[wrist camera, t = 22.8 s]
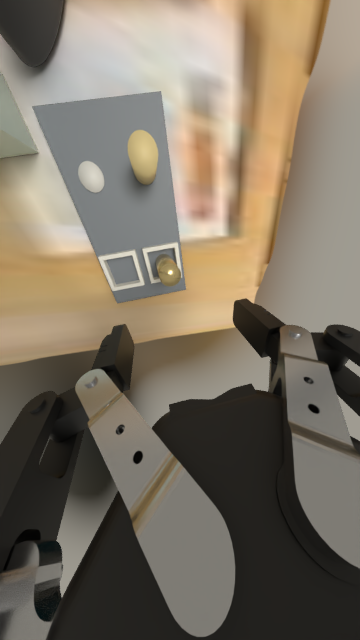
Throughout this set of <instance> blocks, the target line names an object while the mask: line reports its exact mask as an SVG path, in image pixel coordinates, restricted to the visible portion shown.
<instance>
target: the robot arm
mask: <svg viewBox="0 0 360 640" xmlns="http://www.w3.org/2000/svg"><path fill="white" fill-rule="evenodd" d="M233 322H234V325H235V326H236V328H237V329H238V330H239V331H240V332H241V334H242V335H243V336H244V337H245V338H246V340H247V341H248V342H249V343H250V344H251V346H252V347H253V348H254V349H255V350H256V352H257V353H258V354H259V355H260V357H262V358H263V357H267V356H269V357H270V358H271V359H270V370H269V389H268V392H266V391H261V390H255V389H254V387H253V386H252V384H248V385H244V386H240V387H236V388H233V389H230V390H229V391H227V392H225V393H223V394H222V395H220V396H218V397H217V398H215V399H212V400H203V399H199V400H198V399H189V400H186V401H181V402H177V403H174V404H170V405H169V407H170V408H169V409H170V412H168V413H166V414H165V415H164V416H162V417H161V418H160V419H159V420H158V421H157V422H156V423H155V424H154V426H153V427H152V429H151V427H150V426H149V425H148V424H147V423H146V421H145V420H144V419H143V418H142V416H141V415H140V414H139V413H138V411H137V410H136V409H135V408H134V406H133V405H132V404H131V403H130V402H129V400H128V399H127V398H126V397H125V396H124V394H123V391H125V390H129V389H130V382H131V373H132V364H133V355H134V343H133V340H132V337H131V335H130V333H129V330H128V328H127V326H126V325H125V324H123V325H118V326H114V327H113V330H112V333H111V334H110V335H107V336H106V337H105V339H104V340H103V341H102V343H101V346H100V349H99V353H98V354H97V356H96V359H95V362H94V364H93V367H92V369H91V371H89V372H87V373H86V374H85V375H83V376H82V377H81V378H80V379H79V380H78V382H77V384H76V387H74V388H72V389H70V390H68V391H66V392H64V393H62V394H60V395H57V394H56V393H55V392H53V391H48V392H44V393H41V394H39V395H38V396H36V397H35V398H34V399H32V400H31V401H30V402H28V403H27V404H26V405H25V407H24V408H23V409H22V411H21V412H20V414H19V416H18V417H17V419H16V420H15V422H14V423H13V425H12V427H11V428H10V430H9V431H8V433H7V435H6V436H5V438H4V440H3V441H2V443H1V444H0V640H360V441H358V440H357V439H355V438H353V437H351V436H350V435H349V432H348V428H347V425H346V422H345V419H344V416H343V412H342V409H341V406H340V403H339V400H338V397H337V395H338V396H339V397H340V398H341V399H343V401H344V402H345V403H346V404H347V405H348V406H350V408H352V409H353V410H354V411H355V412H356V413H357V414H358V415H359V416H360V377H359V376H357V375H356V374H355V373H354V372H352V371H351V370H350V369H349V368H347V367H346V366H345V364H346V363H347V361H348V360H349V359H350V360H351V361H353V362H354V363H355V364H357V365H358V366H360V331H358V330H356V329H354V328H351V327H348V326H344V325H330V326H328V327H327V328H326V330H325V331H324V333H310V332H309V331H308V330H306V329H305V328H302V327H299V326H296V325H286V324H284V323H283V322H281V321H280V320H279V319H277V318H276V317H275V316H273V315H272V314H271V313H270V312H268V311H266V309H264V308H263V307H262V306H259V305H257V304H253V303H251V302H250V301H249V300H248V299H241V300H236V301H235V302H234V311H233ZM87 427H89V428H90V431H91V433H92V435H93V437H94V439H95V441H96V443H97V445H98V447H99V450H100V452H101V454H102V456H103V458H104V460H105V462H106V464H107V467H108V469H109V471H110V473H111V475H112V477H113V479H114V481H115V484H116V486H117V488H118V492H117V494H116V496H115V498H114V500H113V502H112V503H111V505H110V507H109V509H108V511H107V513H106V515H105V517H104V519H103V521H102V522H101V524H100V527H99V528H98V530H97V532H96V534H95V536H94V538H93V540H92V541H91V543H90V545H89V547H88V549H87V551H86V553H85V555H84V557H83V559H82V561H81V563H80V565H79V566H78V568H77V570H76V572H75V574H74V576H73V578H72V580H71V581H70V583H69V585H68V587H67V589H66V591H65V593H64V595H63V597H61V593H60V580H61V577H62V571H63V565H62V549H61V546H60V544H59V543H58V542H57V541H56V540H57V536H58V532H59V528H60V524H61V520H62V516H63V512H64V508H65V504H66V500H67V497H68V493H69V488H70V485H71V481H72V477H73V473H74V469H75V465H76V461H77V457H78V454H79V449H80V446H81V442H82V438H83V434H84V430H85V428H87ZM48 438H50V440H49V443H48V445H47V447H46V450H45V452H44V455H43V457H42V460H41V462H40V465H39V461H40V458H41V455H42V453H43V450H44V448H45V446H46V443H47V441H48Z"/></svg>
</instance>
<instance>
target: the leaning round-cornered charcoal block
mask: <svg viewBox="0 0 360 640" xmlns="http://www.w3.org/2000/svg"><path fill="white" fill-rule="evenodd" d="M62 8H63V0H0V34H1V35H2V36H3V38H4V39H5V40H6V42H7V43H8V44H9V45H10V47H11V48H12V49H13V50H14V52H15V53H16V54H17V55H18V57H19V58H20V59H21V60H22V61H23V62H24V63H25V64H27V65H29V66H31V67H36V66H39V65H41V64H42V63H43V62H44V61H45V60H46V59H47V57H48V55H49V54H50V52H51V50H52V47H53V45H54V42H55V39H56V36H57V33H58V29H59V25H60V20H61V15H62Z"/></svg>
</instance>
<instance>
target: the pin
mask: <svg viewBox="0 0 360 640" xmlns="http://www.w3.org/2000/svg"><path fill="white" fill-rule="evenodd" d="M156 266H157V270H158V274H159V278H160V280H161V282H162V283H163V284H164V285H166V286H174V285H176V284H178V283H179V281H180V279H181V271H180V269H179V268H178V266H177V265H176V264H175V262H174V261H173V260H172V258H171V257H170V256H169V255H167V254H161V255H159V256H158V257H157V259H156Z"/></svg>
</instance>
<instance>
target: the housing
mask: <svg viewBox="0 0 360 640" xmlns="http://www.w3.org/2000/svg"><path fill="white" fill-rule="evenodd" d="M35 153H39V152H38V149H37V147H36V145H35V143H34V141H33V139H32V136H31V134H30V132H29V130H28V128H27V126H26V124H25V121H24V119H23V117H22V115H21V113H20V111H19V109H18V106H17V104H16V102H15V100H14V98H13V96H12V94H11V91H10V89H9V87H8V85H7V83H6V81H5V79H4V76H3V74H2V73H1V72H0V158H5V157H13V156H20V155H28V154H35Z"/></svg>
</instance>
